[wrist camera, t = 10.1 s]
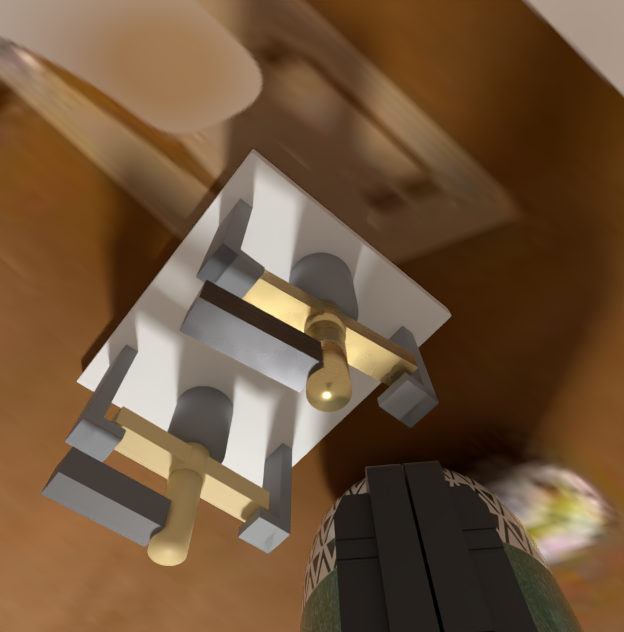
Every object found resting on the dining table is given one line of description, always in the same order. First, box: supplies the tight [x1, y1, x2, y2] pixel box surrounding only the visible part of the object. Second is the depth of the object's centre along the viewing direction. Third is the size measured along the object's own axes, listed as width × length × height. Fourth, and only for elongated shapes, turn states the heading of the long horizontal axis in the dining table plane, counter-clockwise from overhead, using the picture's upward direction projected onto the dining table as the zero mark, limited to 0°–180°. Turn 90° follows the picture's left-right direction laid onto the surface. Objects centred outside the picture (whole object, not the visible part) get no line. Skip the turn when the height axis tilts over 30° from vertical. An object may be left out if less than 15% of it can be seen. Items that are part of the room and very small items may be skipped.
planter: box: [300, 466, 584, 632], centre depth 39 cm, size 20×20×21 cm
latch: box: [179, 270, 418, 412], centre depth 29 cm, size 14×2×8 cm, turn 58°
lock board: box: [41, 149, 452, 566], centre depth 35 cm, size 22×18×14 cm
